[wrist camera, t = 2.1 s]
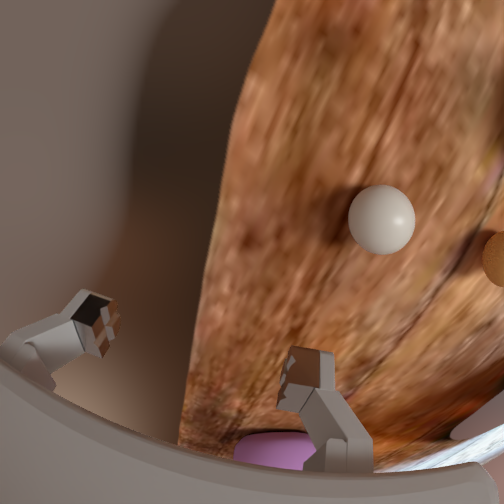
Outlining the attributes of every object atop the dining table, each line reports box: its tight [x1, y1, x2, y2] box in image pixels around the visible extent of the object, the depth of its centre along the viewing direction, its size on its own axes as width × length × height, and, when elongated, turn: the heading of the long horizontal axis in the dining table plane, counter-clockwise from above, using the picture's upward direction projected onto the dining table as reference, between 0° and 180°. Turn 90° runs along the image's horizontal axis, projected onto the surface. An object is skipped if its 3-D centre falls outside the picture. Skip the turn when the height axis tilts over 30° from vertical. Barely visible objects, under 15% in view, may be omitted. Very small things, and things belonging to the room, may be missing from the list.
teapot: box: [233, 432, 316, 470], centre depth 47 cm, size 23×21×15 cm
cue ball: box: [348, 185, 415, 255], centre depth 22 cm, size 6×6×6 cm
